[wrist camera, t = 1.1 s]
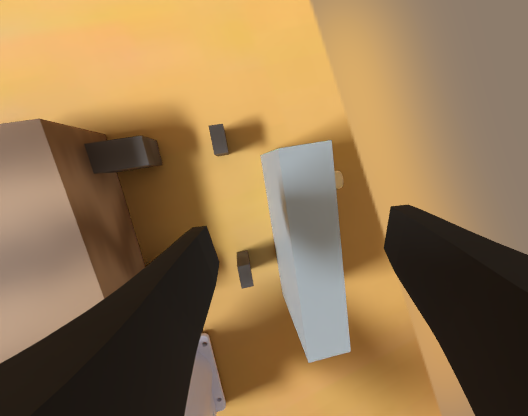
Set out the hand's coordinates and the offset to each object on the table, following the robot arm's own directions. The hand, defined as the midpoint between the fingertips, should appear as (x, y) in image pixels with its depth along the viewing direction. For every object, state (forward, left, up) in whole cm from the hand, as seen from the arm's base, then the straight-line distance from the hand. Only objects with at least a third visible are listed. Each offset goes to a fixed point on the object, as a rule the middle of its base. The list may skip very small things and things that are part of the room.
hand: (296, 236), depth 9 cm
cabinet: (0, +11, -11) cm, 16 cm away
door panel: (-3, -2, -12) cm, 12 cm away
